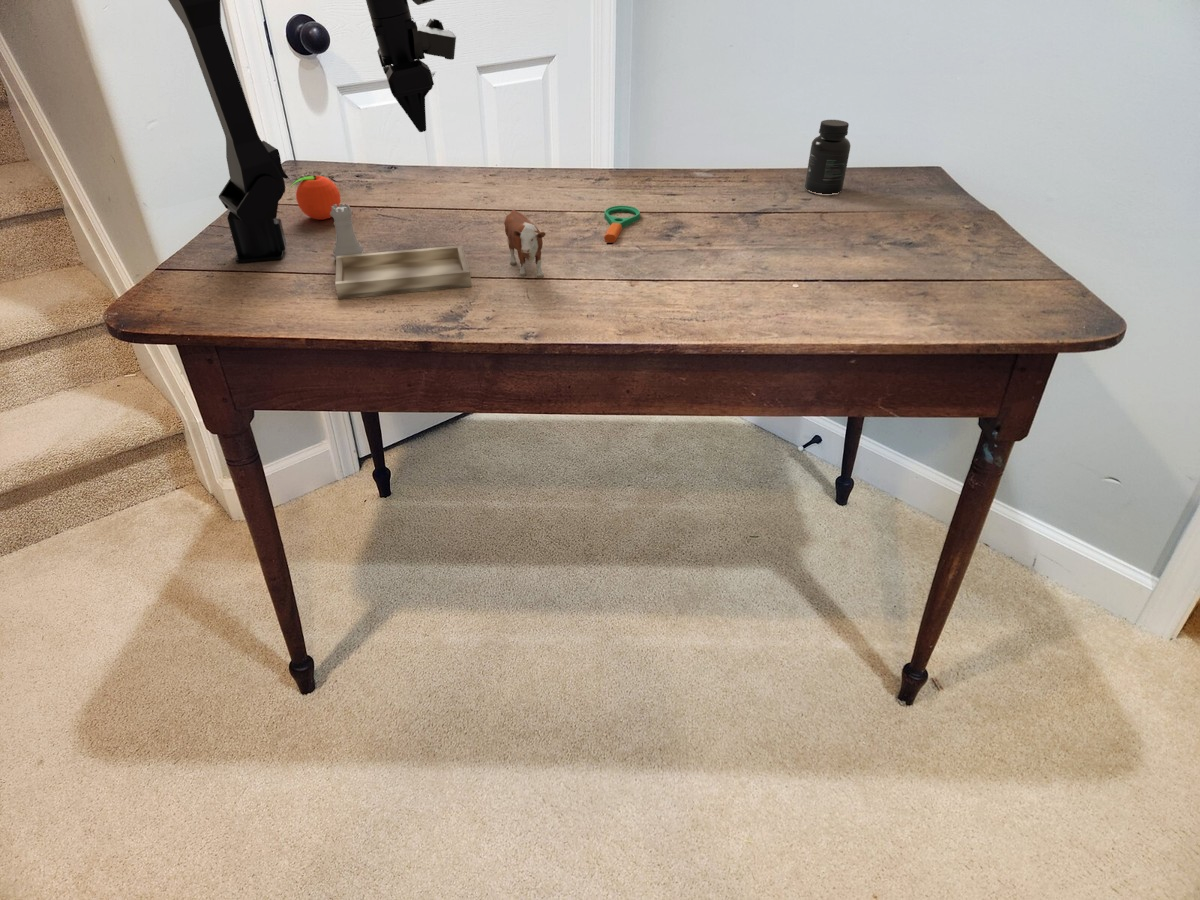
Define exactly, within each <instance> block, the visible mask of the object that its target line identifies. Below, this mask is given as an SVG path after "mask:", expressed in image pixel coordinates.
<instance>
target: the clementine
mask: <svg viewBox="0 0 1200 900" xmlns="http://www.w3.org/2000/svg"><path fill="white" fill-rule="evenodd" d="M298 182H300V183H299V185H297V186H298V187H296V192H295V197H296V198H295V199H296V201H297V204H298V205H297V206H298V207H299V209H300V210H301V212H303V213H304V214H305V215H306V216H308V217H309V218H311V219H314V220H320V221H321V220H323V221H324V220H326V219H329V218H333V217H332V216H331V215H330V212H331V210H332V209H331V206H333V205H335V204H337V207H340V205H339V204H340V203H341V200H342V199H341V194H340V191H339V188H338V187H337V185H336V184H335V183H334V182H333V181H332V180H331V179H329V178H327V177H325V176H322V175H315V174H314V175H310V176H309V175H308V176H305V177H304V176H303V177H301V178H298V179H296V181H294V182H293V183H292V184H291V185H290V187H289V190H288V194H289V193H290V190H291V188H292V187H293V185H295V184H296V183H298Z"/></svg>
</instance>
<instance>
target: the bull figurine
mask: <svg viewBox="0 0 1200 900" xmlns="http://www.w3.org/2000/svg"><path fill="white" fill-rule="evenodd" d="M503 225H504V232H505V236H506V237H507V240H506V241H507V245H508V249H509V252H510V257H509V264H510V265H512V266H514V265H515V266H516V265H517V263H518V262H517V258H516V255H515V250H516V252H517V256H518V259H519V264H520V268H519V276H521V277H525V276H527V271H526V260H528V262H530V263H532V262H533V261H535V266H536V277H537V278H539V279H542V278H545V276H544V273H543V269H542V249H543V244H544V243H543V238H544V237H546V235H547V233H546V232H545V231H540V229H539V228H538V227H537V226H536V225H534V223H532V222H531V220H530V219H529V218H528V217H526V216H525V214H523V213H521V212H519V211H517V210H516V209H513V210H511V212H510V213H508V214H507V215H506V217H505V220H504V222H503ZM534 259H535V260H534Z"/></svg>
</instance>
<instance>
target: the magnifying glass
mask: <svg viewBox="0 0 1200 900" xmlns="http://www.w3.org/2000/svg"><path fill="white" fill-rule="evenodd" d="M615 213H616V214H617V213H626V214H627V213H628V214H631V215H633V216H628V217H627V216H626V217H618V216H613V215H612V214H615ZM640 218H641V211H640V209H638V208H637V207H635V206H634V207H633V206H631V205H630V206H629V205H615V206H610V207H608V208H606V209H605V210H604V219H605V220H606V222H607V223H608V225H610V226H609V227H608V230H607V231H606V233H605V235H604V236H603V237H604V241H605V242H606V243H615V242H616V241H617V239H618V237H619V235H620V234H621V231H622V230H623V228H625V227H627V226H629V225H632V224H634V223H636V222H638V221H639V220H640ZM637 220H638V221H637ZM633 222H634V223H633ZM631 223H632V224H631Z"/></svg>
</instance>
